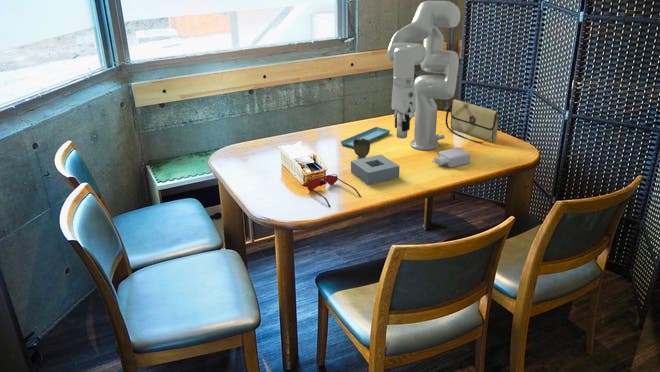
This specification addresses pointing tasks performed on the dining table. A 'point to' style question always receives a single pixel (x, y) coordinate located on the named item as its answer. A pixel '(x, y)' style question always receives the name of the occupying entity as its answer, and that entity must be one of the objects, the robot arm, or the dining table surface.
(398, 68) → the robot arm
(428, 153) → the dining table surface
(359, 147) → the cup
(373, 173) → the socket block
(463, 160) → the charger
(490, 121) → the clutch purse
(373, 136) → the shallow long dish
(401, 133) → the peg
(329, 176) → the glasses
